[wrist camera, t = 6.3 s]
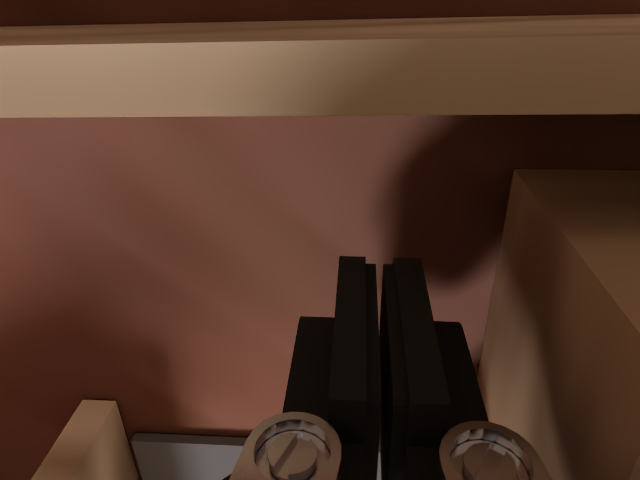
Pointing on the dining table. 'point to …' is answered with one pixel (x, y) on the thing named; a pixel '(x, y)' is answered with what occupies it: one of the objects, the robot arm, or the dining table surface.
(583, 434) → the tan wooden block
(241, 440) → the pads
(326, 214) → the dining table surface
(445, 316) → the dining table surface
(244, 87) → the lane box
